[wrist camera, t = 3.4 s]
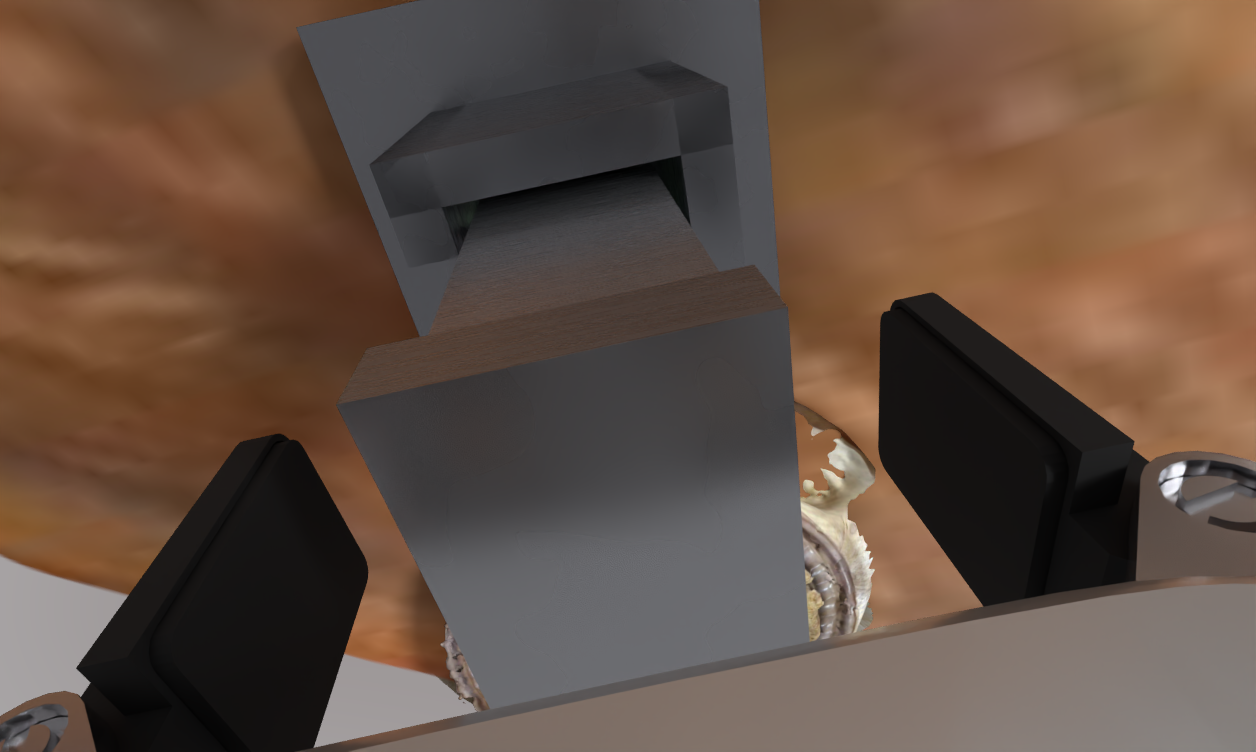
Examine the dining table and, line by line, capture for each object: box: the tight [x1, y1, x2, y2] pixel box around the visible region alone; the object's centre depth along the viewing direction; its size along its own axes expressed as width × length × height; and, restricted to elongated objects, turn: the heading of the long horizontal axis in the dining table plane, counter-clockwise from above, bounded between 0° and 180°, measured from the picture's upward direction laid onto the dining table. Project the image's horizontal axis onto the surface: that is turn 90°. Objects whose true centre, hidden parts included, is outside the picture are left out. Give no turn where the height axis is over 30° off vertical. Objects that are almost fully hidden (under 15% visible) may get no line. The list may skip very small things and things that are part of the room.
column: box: [336, 162, 810, 709], centre depth 15 cm, size 6×5×17 cm
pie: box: [436, 401, 875, 712], centre depth 34 cm, size 28×27×5 cm
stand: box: [296, 0, 780, 337], centre depth 20 cm, size 14×14×11 cm
